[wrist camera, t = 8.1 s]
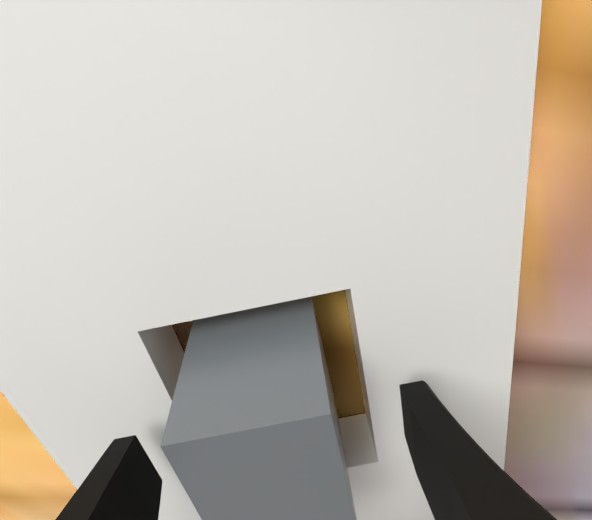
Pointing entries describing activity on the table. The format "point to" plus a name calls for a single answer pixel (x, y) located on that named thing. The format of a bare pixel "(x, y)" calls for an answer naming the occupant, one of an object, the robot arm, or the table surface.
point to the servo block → (258, 419)
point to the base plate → (262, 208)
